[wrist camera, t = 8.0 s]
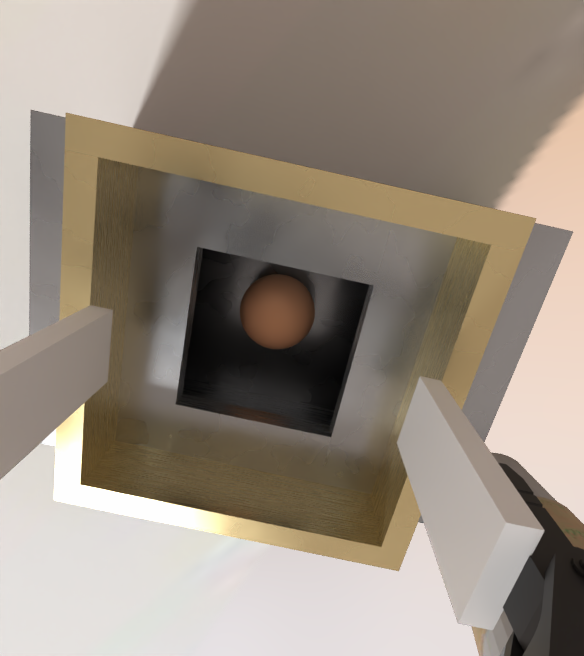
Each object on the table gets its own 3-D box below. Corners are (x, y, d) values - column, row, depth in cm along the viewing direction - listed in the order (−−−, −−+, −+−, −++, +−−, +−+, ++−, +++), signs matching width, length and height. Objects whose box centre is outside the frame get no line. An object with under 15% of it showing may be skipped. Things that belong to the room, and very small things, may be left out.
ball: (242, 327, 24) (226, 350, 21) (254, 261, 23) (239, 273, 19) (307, 342, 24) (303, 368, 21) (323, 277, 23) (321, 292, 19)
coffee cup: (521, 405, 26) (775, 663, 12) (575, 510, 28) (842, 834, 14) (387, 467, 28) (465, 754, 14) (448, 561, 30) (569, 892, 16)
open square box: (109, 370, 27) (-22, 484, 16) (127, 138, 22) (-39, 89, 12) (409, 433, 27) (471, 586, 16) (485, 218, 23) (634, 240, 12)
